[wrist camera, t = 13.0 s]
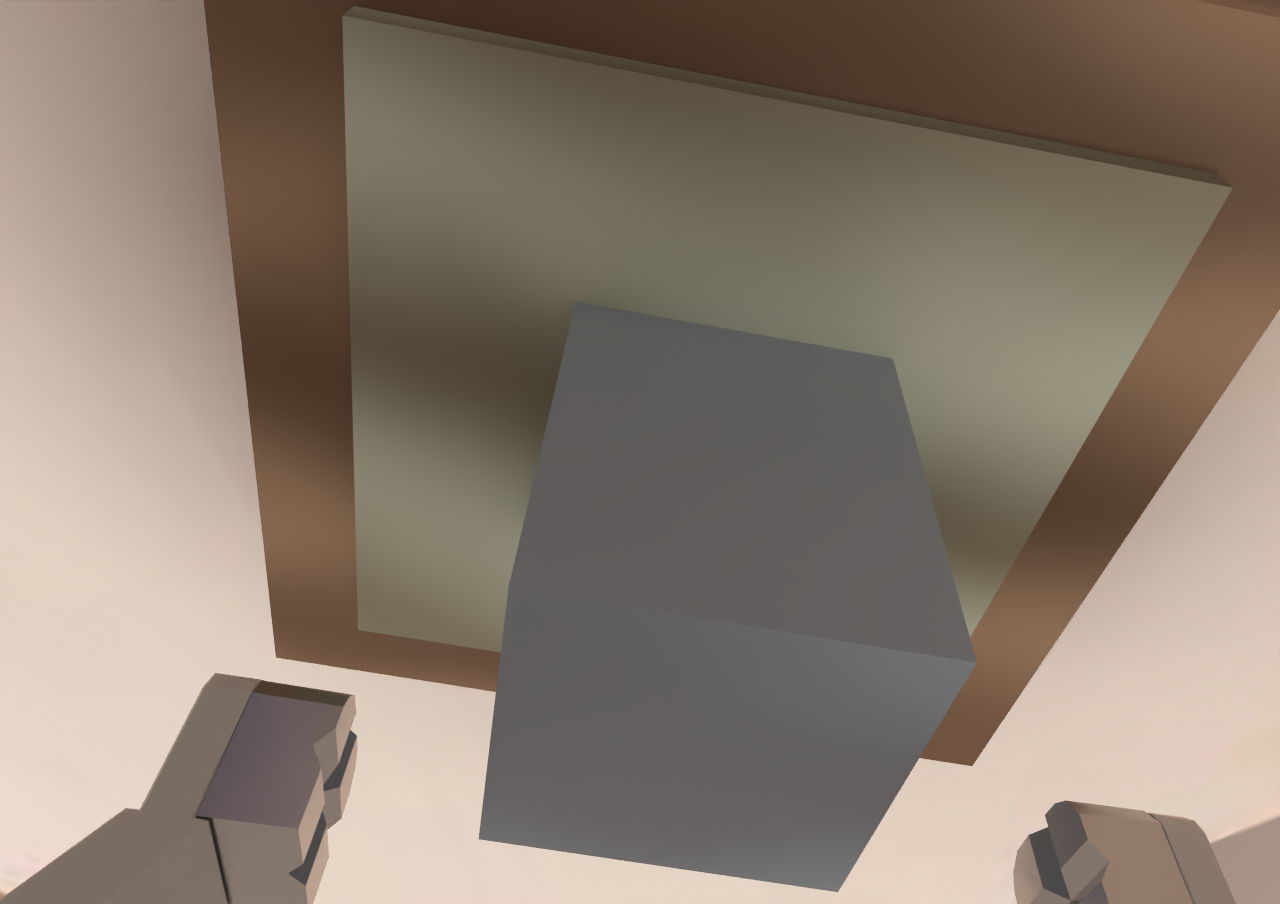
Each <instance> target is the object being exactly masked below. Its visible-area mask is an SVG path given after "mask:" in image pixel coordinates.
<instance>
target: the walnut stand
mask: <svg viewBox="0 0 1280 904" xmlns="http://www.w3.org/2000/svg"><path fill="white" fill-rule="evenodd" d="M204 6H205V15H206V24H207V33H208V42H209V51H210V60H211V69H212V78H213V88H214V97H215V106H216V115H217V124H218V133H219V142H220V151H221V160H222V169H223V179H224V188H225V197H226V206H227V215H228V224H229V233H230V242H231V251H232V261H233V270H234V279H235V288H236V297H237V306H238V315H239V324H240V333H241V342H242V352H243V361H244V370H245V379H246V388H247V397H248V406H249V415H250V424H251V433H252V443H253V452H254V461H255V470H256V479H257V488H258V497H259V506H260V515H261V524H262V534H263V543H264V552H265V561H266V570H267V579H268V588H269V597H270V606H271V616H272V625H273V634H274V643H275V652H276V658H283V659H289V660H296V661H302V662H308V663H315V664H321V665H328V666H334V667H341V668H347V669H353V670H360V671H366V672H373V673H379V674H385V675H392V676H398V677H405V678H411V679H417V680H424V681H430V682H437V683H443V684H449V685H456V686H462V687H469V688H475V689H481V690H488V691H494V692H496V689H497V680H498V672H499V664H500V655H501V647H502V638H503V630H504V621H505V613H506V604H507V596H508V587H509V583H510V579H511V574H512V570H513V566H514V562H515V557H516V553H517V549H518V545H519V540H520V536H521V532H522V528H523V523H524V519H525V515H526V511H527V506H528V502H529V498H530V494H531V489H532V485H533V481H534V477H535V472H536V468H537V464H538V460H539V455H540V451H541V447H542V443H543V438H544V434H545V430H546V426H547V421H548V417H549V413H550V409H551V404H552V400H553V396H554V392H555V387H556V383H557V379H558V375H559V370H560V366H561V362H562V358H563V353H564V349H565V345H566V340H567V336H568V332H569V328H570V323H571V319H572V315H573V311H574V306H575V302H580V303H586V304H591V305H597V306H602V307H608V308H614V309H619V310H625V311H630V312H636V313H641V314H647V315H653V316H658V317H664V318H669V319H675V320H681V321H686V322H692V323H697V324H703V325H708V326H714V327H720V328H725V329H731V330H736V331H742V332H747V333H753V334H759V335H764V336H770V337H775V338H781V339H786V340H792V341H798V342H803V343H809V344H814V345H820V346H826V347H831V348H837V349H842V350H848V351H853V352H859V353H865V354H870V355H876V356H881V357H887V358H892V359H893V361H894V364H895V368H896V371H897V375H898V379H899V382H900V386H901V390H902V393H903V397H904V400H905V404H906V408H907V411H908V415H909V419H910V422H911V426H912V429H913V433H914V437H915V440H916V444H917V448H918V451H919V455H920V458H921V462H922V466H923V469H924V473H925V477H926V480H927V484H928V487H929V491H930V495H931V498H932V502H933V506H934V509H935V513H936V516H937V520H938V524H939V527H940V531H941V535H942V538H943V542H944V545H945V549H946V553H947V556H948V560H949V564H950V567H951V571H952V574H953V578H954V582H955V585H956V589H957V593H958V596H959V600H960V603H961V607H962V611H963V614H964V618H965V622H966V625H967V629H968V632H969V636H970V640H971V643H972V647H973V651H974V654H975V658H976V661H977V663H976V665H975V667H974V668H973V670H972V672H971V673H970V675H969V677H968V678H967V680H966V682H965V683H964V685H963V687H962V688H961V690H960V691H959V693H958V695H957V696H956V698H955V700H954V701H953V703H952V705H951V706H950V708H949V710H948V711H947V713H946V715H945V716H944V718H943V719H942V721H941V723H940V724H939V726H938V728H937V729H936V731H935V733H934V734H933V736H932V738H931V739H930V741H929V743H928V744H927V746H926V748H925V749H924V751H923V752H922V754H921V756H920V757H919V758H924V759H930V760H936V761H943V762H949V763H956V764H962V765H969V766H972V765H973V764H974V763H975V761H976V760H977V758H978V757H979V755H980V754H981V752H982V751H983V749H984V748H985V746H986V745H987V743H988V742H989V740H990V739H991V737H992V736H993V734H994V733H995V731H996V730H997V728H998V727H999V725H1000V724H1001V722H1002V721H1003V719H1004V718H1005V716H1006V715H1007V713H1008V712H1009V711H1010V709H1011V708H1012V706H1013V705H1014V703H1015V702H1016V700H1017V699H1018V697H1019V696H1020V694H1021V693H1022V691H1023V690H1024V688H1025V687H1026V685H1027V684H1028V682H1029V681H1030V679H1031V678H1032V676H1033V675H1034V673H1035V672H1036V670H1037V669H1038V667H1039V666H1040V664H1041V663H1042V661H1043V660H1044V659H1045V657H1046V656H1047V654H1048V653H1049V651H1050V650H1051V648H1052V647H1053V645H1054V644H1055V642H1056V641H1057V639H1058V638H1059V636H1060V635H1061V633H1062V632H1063V630H1064V629H1065V627H1066V626H1067V624H1068V623H1069V621H1070V620H1071V618H1072V617H1073V615H1074V614H1075V612H1076V611H1077V609H1078V608H1079V606H1080V605H1081V604H1082V602H1083V601H1084V599H1085V598H1086V596H1087V595H1088V593H1089V592H1090V590H1091V589H1092V587H1093V586H1094V584H1095V583H1096V581H1097V580H1098V578H1099V577H1100V575H1101V574H1102V572H1103V571H1104V569H1105V568H1106V566H1107V565H1108V563H1109V562H1110V560H1111V559H1112V557H1113V556H1114V554H1115V553H1116V552H1117V550H1118V549H1119V547H1120V546H1121V544H1122V543H1123V541H1124V540H1125V538H1126V537H1127V535H1128V534H1129V532H1130V531H1131V529H1132V528H1133V526H1134V525H1135V523H1136V522H1137V520H1138V519H1139V517H1140V516H1141V514H1142V513H1143V511H1144V510H1145V508H1146V507H1147V505H1148V504H1149V502H1150V501H1151V500H1152V498H1153V497H1154V495H1155V494H1156V492H1157V491H1158V489H1159V488H1160V486H1161V485H1162V483H1163V482H1164V480H1165V479H1166V477H1167V476H1168V474H1169V473H1170V471H1171V470H1172V468H1173V467H1174V465H1175V464H1176V462H1177V461H1178V459H1179V458H1180V456H1181V455H1182V453H1183V452H1184V450H1185V449H1186V448H1187V446H1188V445H1189V443H1190V442H1191V440H1192V439H1193V437H1194V436H1195V434H1196V433H1197V431H1198V430H1199V428H1200V427H1201V425H1202V424H1203V422H1204V421H1205V419H1206V418H1207V416H1208V415H1209V413H1210V412H1211V410H1212V409H1213V407H1214V406H1215V404H1216V403H1217V401H1218V400H1219V398H1220V397H1221V396H1222V394H1223V393H1224V391H1225V390H1226V388H1227V387H1228V385H1229V384H1230V382H1231V381H1232V379H1233V378H1234V376H1235V375H1236V373H1237V372H1238V370H1239V369H1240V367H1241V366H1242V364H1243V363H1244V361H1245V360H1246V358H1247V357H1248V355H1249V354H1250V352H1251V351H1252V349H1253V348H1254V346H1255V345H1256V344H1257V342H1258V341H1259V339H1260V338H1261V336H1262V335H1263V333H1264V332H1265V330H1266V329H1267V327H1268V326H1269V324H1270V323H1271V321H1272V320H1273V318H1274V317H1275V315H1276V314H1277V312H1278V311H1279V309H1280V0H204Z"/></svg>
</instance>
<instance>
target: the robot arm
mask: <svg viewBox="0 0 1280 904" xmlns="http://www.w3.org/2000/svg"><path fill="white" fill-rule="evenodd" d="M355 714H356V708H355V697H354V695H350V694H344V693H337V692H331V691H325V690H318V689H312V688H306V687H299V686H293V685H287V684H280V683H274V682H267V681H264V680H259V679H252V678H245V677H238V676H231V675H225V674H218V673H215V674H214V675H213V676H212V678H211V679H210V680H209V681H208V682H207V683H206V684H205V685H204V686H203V688H202V690H201V692H200V694H199V696H198V698H197V700H196V702H195V704H194V705H193V707H192V709H191V711H190V713H189V715H188V717H187V719H186V721H185V723H184V725H183V727H182V729H181V731H180V733H179V735H178V737H177V738H176V740H175V742H174V744H173V746H172V748H171V750H170V752H169V754H168V756H167V758H166V760H165V762H164V764H163V766H162V768H161V769H160V771H159V773H158V775H157V777H156V779H155V781H154V783H153V785H152V787H151V789H150V791H149V793H148V795H147V797H146V799H145V801H144V802H143V804H142V806H141V808H140V810H138V809H129V808H125V809H124V810H122V811H121V812H120V813H118V814H117V815H115V816H114V817H113V818H111V819H110V820H109V821H107V822H106V823H104V824H103V825H102V826H100V827H99V828H98V829H96V830H95V831H93V832H92V833H91V834H89V835H88V836H87V837H85V838H84V839H82V840H81V841H80V842H78V843H77V844H76V845H74V846H73V847H71V848H70V849H69V850H67V851H66V852H65V853H63V854H62V855H60V856H59V857H58V858H56V859H55V860H54V861H52V862H51V863H49V864H48V865H47V866H45V867H44V868H43V869H41V870H40V871H38V872H37V873H36V874H34V875H33V876H32V877H30V878H29V879H27V880H26V881H25V882H23V883H22V884H21V885H19V886H18V887H16V888H15V889H14V890H12V891H11V892H10V893H8V894H7V895H5V896H4V897H3V898H1V899H0V904H313V902H314V899H315V896H316V893H317V890H318V887H319V884H320V881H321V878H322V875H323V872H324V869H325V866H326V864H327V861H328V858H329V851H328V836H327V830H328V829H329V828H330V827H331V826H333V825H334V824H335V823H336V822H337V821H339V820H340V819H341V818H342V815H343V812H344V809H345V805H346V802H347V799H348V796H349V793H350V788H351V784H352V779H353V775H354V771H355V765H356V756H357V736H356V735H355V734H354V733H353V732H352V731H351V730H350V729H351V726H352V723H353V720H354V717H355ZM1045 816H1046V820H1047V823H1048V828H1045V829H1043V830H1040V831H1038V832H1035V833H1033V834H1030V835H1028V837H1027V838H1026V840H1025V841H1024V842H1023V844H1022V845H1021V847H1020V848H1019V849H1018V851H1017V856H1016V862H1015V867H1014V872H1013V874H1014V889H1015V896H1016V900H1017V904H1236V903H1235V901H1234V898H1233V896H1232V894H1231V891H1230V889H1229V887H1228V885H1227V882H1226V880H1225V878H1224V875H1223V873H1222V871H1221V869H1220V866H1219V864H1218V862H1217V860H1216V857H1215V855H1214V853H1213V850H1212V848H1211V846H1210V844H1209V841H1208V839H1207V837H1206V835H1205V833H1204V831H1203V830H1202V829H1201V828H1200V827H1199V825H1198V824H1197V823H1196V822H1195V821H1193V820H1190V819H1187V818H1184V817H1177V816H1169V815H1162V814H1154V813H1147V812H1145V811H1141V810H1133V809H1126V808H1118V807H1110V806H1103V805H1095V804H1088V803H1080V802H1072V801H1063V802H1059V803H1055V804H1054V805H1053V806H1052V808H1051V809H1050V810H1049V811H1048V812H1047V813H1046V815H1045Z"/></svg>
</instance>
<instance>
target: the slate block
mask: <svg viewBox="0 0 1280 904" xmlns="http://www.w3.org/2000/svg"><path fill="white" fill-rule="evenodd" d="M976 663H977V661H976V658H975V654H974V651H973V647H972V643H971V640H970V636H969V632H968V629H967V625H966V622H965V618H964V614H963V611H962V607H961V603H960V600H959V596H958V593H957V589H956V585H955V582H954V578H953V574H952V571H951V567H950V564H949V560H948V556H947V553H946V549H945V545H944V542H943V538H942V535H941V531H940V527H939V524H938V520H937V516H936V513H935V509H934V506H933V502H932V498H931V495H930V491H929V487H928V484H927V480H926V477H925V473H924V469H923V466H922V462H921V458H920V455H919V451H918V448H917V444H916V440H915V437H914V433H913V429H912V426H911V422H910V419H909V415H908V411H907V408H906V404H905V400H904V397H903V393H902V390H901V386H900V382H899V379H898V375H897V371H896V368H895V364H894V361H893V359H892V358H887V357H881V356H876V355H870V354H865V353H859V352H853V351H848V350H842V349H837V348H831V347H826V346H820V345H814V344H809V343H803V342H798V341H792V340H786V339H781V338H775V337H770V336H764V335H759V334H753V333H747V332H742V331H736V330H731V329H725V328H720V327H714V326H708V325H703V324H697V323H692V322H686V321H681V320H675V319H669V318H664V317H658V316H653V315H647V314H641V313H636V312H630V311H625V310H619V309H614V308H608V307H602V306H597V305H591V304H586V303H580V302H575V306H574V311H573V315H572V319H571V323H570V328H569V332H568V336H567V340H566V345H565V349H564V353H563V358H562V362H561V366H560V370H559V375H558V379H557V383H556V387H555V392H554V396H553V400H552V404H551V409H550V413H549V417H548V421H547V426H546V430H545V434H544V438H543V443H542V447H541V451H540V455H539V460H538V464H537V468H536V472H535V477H534V481H533V485H532V489H531V494H530V498H529V502H528V506H527V511H526V515H525V519H524V523H523V528H522V532H521V536H520V540H519V545H518V549H517V553H516V557H515V562H514V566H513V570H512V574H511V579H510V583H509V587H508V596H507V604H506V613H505V621H504V630H503V638H502V647H501V655H500V664H499V672H498V680H497V689H496V697H495V706H494V714H493V723H492V731H491V740H490V748H489V757H488V765H487V774H486V782H485V791H484V799H483V808H482V816H481V825H480V833H479V839H481V840H488V841H495V842H502V843H509V844H515V845H522V846H529V847H536V848H543V849H549V850H556V851H563V852H570V853H577V854H583V855H590V856H597V857H604V858H611V859H617V860H624V861H631V862H638V863H644V864H651V865H658V866H665V867H672V868H678V869H685V870H692V871H699V872H706V873H712V874H719V875H726V876H733V877H740V878H746V879H753V880H760V881H767V882H773V883H780V884H787V885H794V886H801V887H807V888H814V889H821V890H828V891H835V892H838V891H839V889H840V888H841V886H842V884H843V883H844V881H845V879H846V878H847V876H848V874H849V873H850V871H851V870H852V868H853V866H854V865H855V863H856V861H857V860H858V858H859V856H860V855H861V853H862V851H863V850H864V848H865V846H866V845H867V843H868V842H869V840H870V838H871V837H872V835H873V833H874V832H875V830H876V828H877V827H878V825H879V823H880V822H881V820H882V818H883V817H884V815H885V813H886V812H887V810H888V809H889V807H890V805H891V804H892V802H893V800H894V799H895V797H896V795H897V794H898V792H899V790H900V789H901V787H902V785H903V784H904V782H905V781H906V779H907V777H908V776H909V774H910V772H911V771H912V769H913V767H914V766H915V764H916V762H917V761H918V759H919V757H920V756H921V754H922V752H923V751H924V749H925V748H926V746H927V744H928V743H929V741H930V739H931V738H932V736H933V734H934V733H935V731H936V729H937V728H938V726H939V724H940V723H941V721H942V719H943V718H944V716H945V715H946V713H947V711H948V710H949V708H950V706H951V705H952V703H953V701H954V700H955V698H956V696H957V695H958V693H959V691H960V690H961V688H962V687H963V685H964V683H965V682H966V680H967V678H968V677H969V675H970V673H971V672H972V670H973V668H974V667H975V665H976Z"/></svg>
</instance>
